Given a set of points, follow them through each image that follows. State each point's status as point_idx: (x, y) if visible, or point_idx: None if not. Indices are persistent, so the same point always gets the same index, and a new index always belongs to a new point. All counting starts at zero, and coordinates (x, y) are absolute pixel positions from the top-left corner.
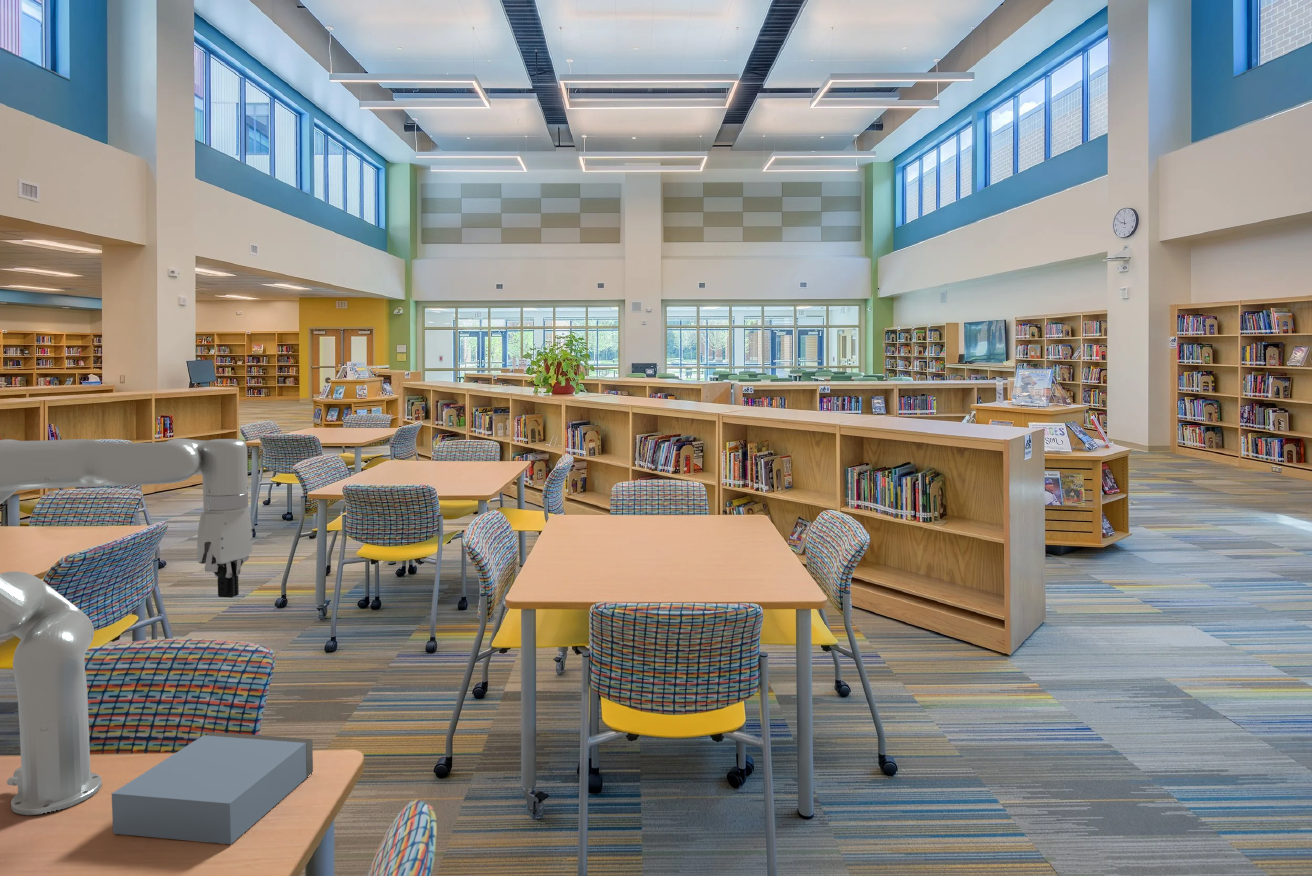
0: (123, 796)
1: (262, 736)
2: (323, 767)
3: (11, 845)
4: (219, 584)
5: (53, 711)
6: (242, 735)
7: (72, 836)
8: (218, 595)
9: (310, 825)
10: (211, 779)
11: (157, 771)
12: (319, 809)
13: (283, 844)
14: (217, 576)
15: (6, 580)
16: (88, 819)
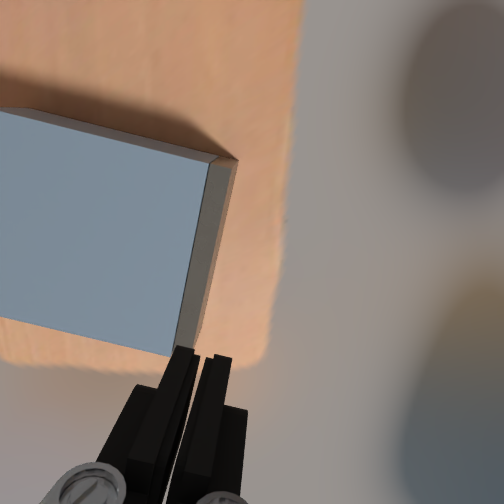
0: None
1: (204, 276)
2: (220, 336)
3: None
4: (110, 433)
5: None
6: (211, 238)
7: (21, 39)
8: (176, 348)
9: (72, 359)
10: (42, 257)
11: (61, 148)
12: (108, 360)
13: (32, 341)
14: (63, 491)
15: None
16: (67, 33)
